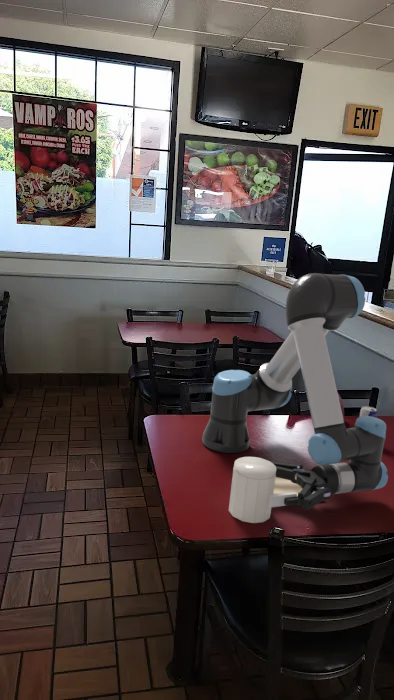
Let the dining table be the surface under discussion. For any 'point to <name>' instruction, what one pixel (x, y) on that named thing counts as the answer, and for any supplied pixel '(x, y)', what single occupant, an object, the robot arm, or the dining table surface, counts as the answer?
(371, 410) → the energy drink
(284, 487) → the coaster
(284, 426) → the dining table surface
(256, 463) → the white rounded cylinder
